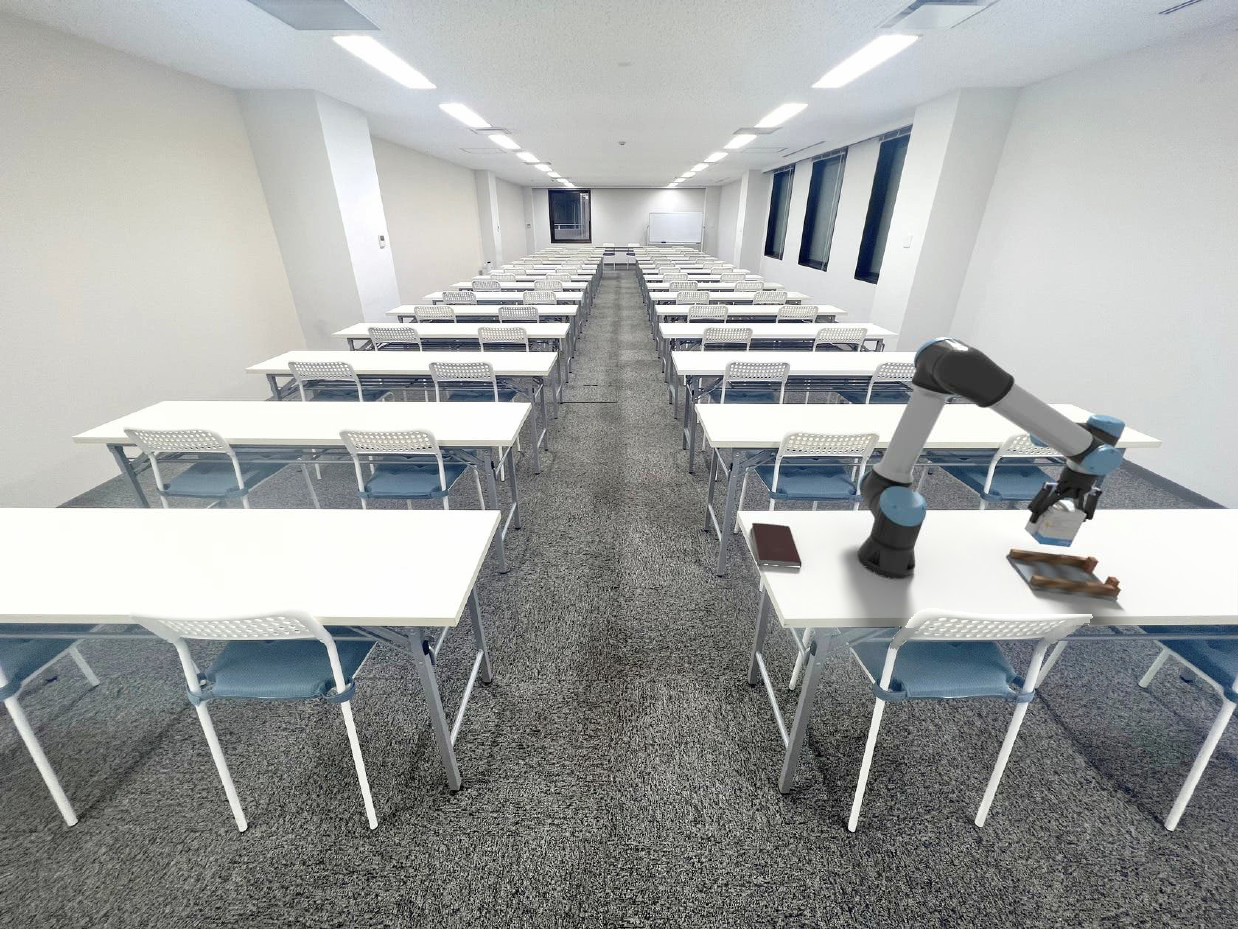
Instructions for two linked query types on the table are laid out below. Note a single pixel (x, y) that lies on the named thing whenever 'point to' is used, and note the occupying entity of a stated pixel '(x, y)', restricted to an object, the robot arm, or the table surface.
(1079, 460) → the robot arm
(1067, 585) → the rail board
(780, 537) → the book
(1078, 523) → the ink box
